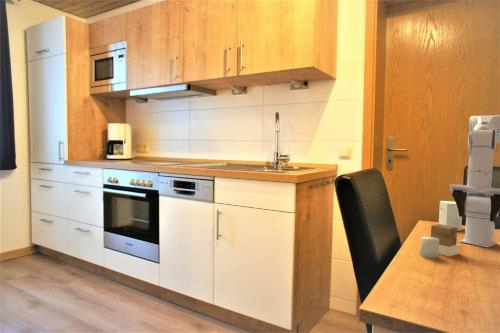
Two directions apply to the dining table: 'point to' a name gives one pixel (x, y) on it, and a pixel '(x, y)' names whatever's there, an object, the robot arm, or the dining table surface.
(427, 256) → the cream smooth round part
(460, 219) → the small box
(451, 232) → the walnut cube
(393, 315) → the dining table surface
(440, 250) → the cream block
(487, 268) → the dining table surface
